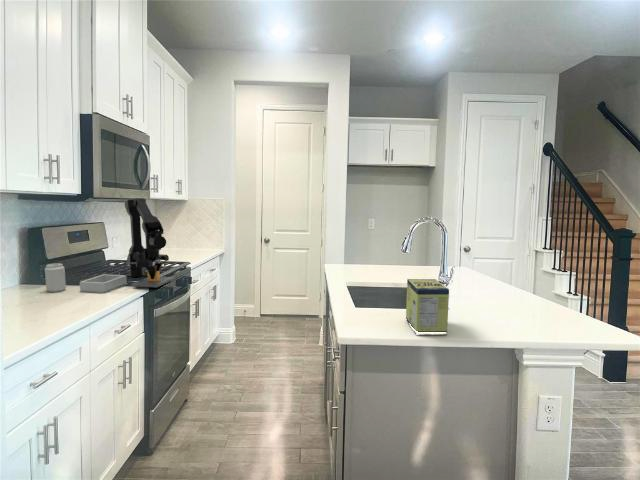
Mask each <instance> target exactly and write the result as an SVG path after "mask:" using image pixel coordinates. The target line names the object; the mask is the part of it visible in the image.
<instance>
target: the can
mask: <svg viewBox="0 0 640 480" xmlns="http://www.w3.org/2000/svg"><path fill="white" fill-rule="evenodd" d="M65 270H66V269H65V266H64V265H63V263H60V262H59V263H49V264H46V266H45V268H44V274H45V275H44V276H45V290H46V291H47V292H48V293H59V292H60V293H61V292H64V291H65V290H66V288H67V284H66V283H67V281H66V272H65Z"/></svg>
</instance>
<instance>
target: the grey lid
mask: <svg viewBox="0 0 640 480" xmlns="http://www.w3.org/2000/svg"><path fill="white" fill-rule="evenodd" d="M160 272H161V270H160V271H156V272H155V277H154V279H151V277H150V274H149V272H148V270H147V272H146V273H147V277H146V278H145V277H144V278H143V279H141V280H137V281H135V282H133V283H132V282H131V284H130V285H131V287H142V288H143V287H144V288H159V287H160V286H161V287H162V286H163V285H166V284H168V283H169V282H172V281H174V280H175V279H176V277H175V276H161V275H160V274H161V273H160Z"/></svg>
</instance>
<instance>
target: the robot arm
mask: <svg viewBox="0 0 640 480" xmlns="http://www.w3.org/2000/svg"><path fill="white" fill-rule="evenodd" d="M146 201H147V200H146V198H144V197H136V198H133V199H132V198H131V199H126V201H124V208H125V210H126V213H127V214H128V216H129V218H130V235H131V237H130V238H131V246H130V248H129V249H128V255H127V259H126V265H127V266H128V267H129V269H130V275H128V276H130V277H129V278H142V277H143V276H146V275H147V273H148V272H149V274H150V277H151V279H154V277H155V272H156V271H160V272H161V269H162V266H163V265H164V264H165V262H169V260H170V257H169V255H168V254H161V253H160V251H161V250H162V249H163V248H165V246H166V245H167V240H166V238H165V237H164V236H163V234H164V231H165V229H164V227H163V226H162V223H161V221H160V220H159V218H158V217H157V216H155V215H153V213H152V212H151V210H150V208H149V206H148V204H147V202H146ZM141 219H142V223H141ZM142 231H143V232H144V237H145V247H144V246H143V243H142V241H143V240H142ZM162 261H165V262H162ZM144 268H145V269H146V270H147V271H148V272H147V273H144ZM141 276H142V277H141Z"/></svg>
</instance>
